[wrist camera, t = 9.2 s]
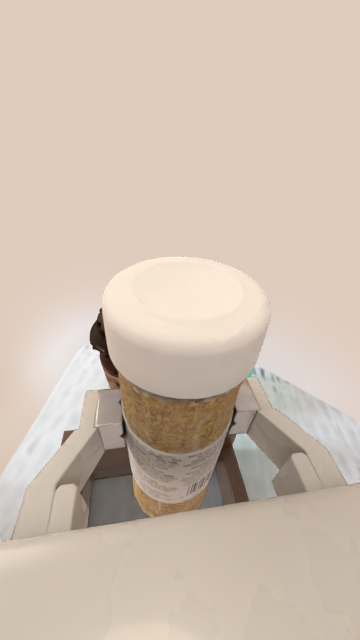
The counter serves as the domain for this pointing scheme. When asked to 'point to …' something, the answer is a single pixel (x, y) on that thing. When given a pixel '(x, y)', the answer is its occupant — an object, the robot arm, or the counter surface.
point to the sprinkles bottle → (180, 369)
